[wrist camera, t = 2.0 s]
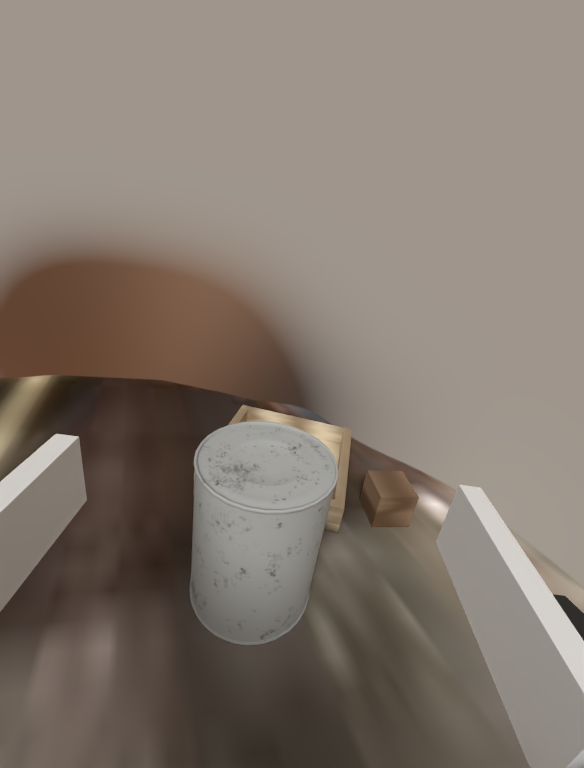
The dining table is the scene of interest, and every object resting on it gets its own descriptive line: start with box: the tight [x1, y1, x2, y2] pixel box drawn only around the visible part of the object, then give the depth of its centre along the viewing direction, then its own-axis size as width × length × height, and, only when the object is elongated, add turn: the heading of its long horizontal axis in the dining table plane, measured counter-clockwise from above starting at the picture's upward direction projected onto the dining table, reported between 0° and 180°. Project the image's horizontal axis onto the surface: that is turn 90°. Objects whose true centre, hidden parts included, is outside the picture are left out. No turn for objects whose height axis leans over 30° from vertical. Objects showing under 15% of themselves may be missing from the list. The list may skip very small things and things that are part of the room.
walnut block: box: [360, 470, 419, 527], centre depth 38 cm, size 4×4×4 cm
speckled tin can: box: [189, 421, 338, 646], centre depth 27 cm, size 10×10×12 cm
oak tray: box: [193, 405, 352, 533], centre depth 42 cm, size 15×15×3 cm
